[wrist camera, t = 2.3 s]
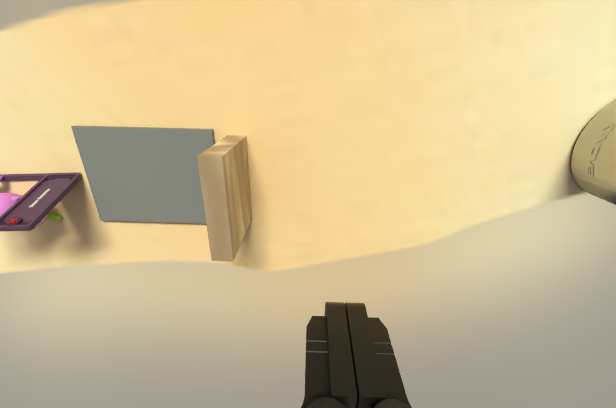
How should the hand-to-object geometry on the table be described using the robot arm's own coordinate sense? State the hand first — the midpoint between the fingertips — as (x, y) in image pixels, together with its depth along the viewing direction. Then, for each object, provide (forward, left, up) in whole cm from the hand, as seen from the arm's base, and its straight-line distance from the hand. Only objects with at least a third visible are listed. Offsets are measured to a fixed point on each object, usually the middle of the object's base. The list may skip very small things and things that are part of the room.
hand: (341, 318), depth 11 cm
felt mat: (+16, 0, -16) cm, 23 cm away
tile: (+8, 0, -16) cm, 18 cm away
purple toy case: (+27, +2, -16) cm, 32 cm away
